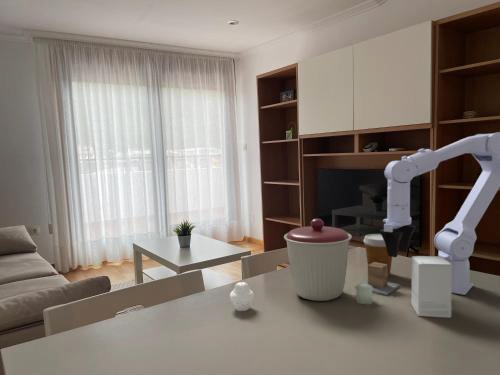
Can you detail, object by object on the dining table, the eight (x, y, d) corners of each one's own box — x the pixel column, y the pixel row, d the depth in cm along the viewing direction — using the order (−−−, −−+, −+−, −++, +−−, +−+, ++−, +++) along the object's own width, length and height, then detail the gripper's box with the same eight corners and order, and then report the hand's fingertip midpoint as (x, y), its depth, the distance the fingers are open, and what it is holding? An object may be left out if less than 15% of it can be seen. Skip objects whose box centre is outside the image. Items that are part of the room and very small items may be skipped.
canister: (277, 302, 99) (274, 223, 97) (295, 280, 115) (293, 212, 114) (347, 311, 92) (346, 226, 90) (356, 286, 109) (355, 214, 107)
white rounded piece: (259, 307, 96) (258, 281, 95) (242, 315, 91) (241, 287, 91) (242, 302, 100) (241, 276, 100) (225, 309, 96) (224, 282, 95)
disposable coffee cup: (361, 269, 124) (361, 233, 123) (391, 269, 123) (391, 233, 122) (366, 279, 115) (365, 240, 114) (398, 279, 113) (398, 240, 112)
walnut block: (374, 282, 110) (373, 262, 110) (387, 284, 107) (387, 264, 107) (367, 285, 107) (367, 265, 107) (381, 288, 104) (381, 267, 104)
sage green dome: (360, 297, 101) (360, 282, 100) (375, 300, 98) (375, 285, 98) (353, 301, 98) (353, 286, 97) (368, 305, 95) (368, 290, 95)
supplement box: (452, 318, 86) (452, 264, 85) (417, 316, 88) (417, 263, 87) (442, 305, 93) (443, 255, 92) (410, 304, 95) (410, 255, 94)
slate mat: (369, 280, 114) (369, 278, 114) (399, 286, 108) (399, 284, 108) (355, 288, 107) (355, 286, 107) (386, 295, 101) (386, 293, 101)
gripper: (394, 200, 111) (393, 246, 112) (372, 206, 100) (372, 256, 101) (419, 202, 106) (418, 249, 107) (399, 208, 95) (399, 261, 96)
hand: (398, 253), depth 104 cm, fingers open, 7 cm apart
